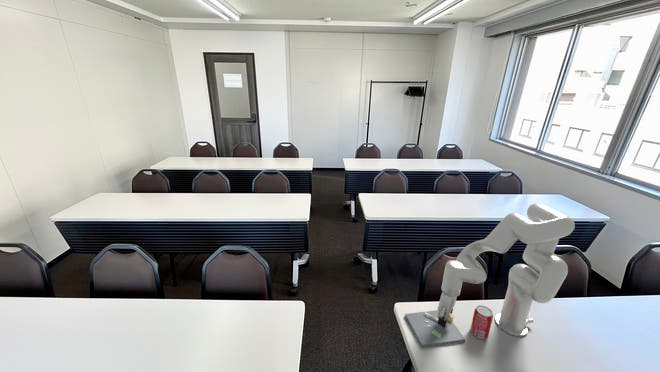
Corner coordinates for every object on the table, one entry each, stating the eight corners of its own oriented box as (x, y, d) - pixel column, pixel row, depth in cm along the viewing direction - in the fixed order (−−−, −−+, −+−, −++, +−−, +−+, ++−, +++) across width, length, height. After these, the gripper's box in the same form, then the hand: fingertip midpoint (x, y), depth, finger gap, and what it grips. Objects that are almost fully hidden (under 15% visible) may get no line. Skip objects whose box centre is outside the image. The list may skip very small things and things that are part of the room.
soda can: (490, 341, 114) (496, 318, 110) (472, 338, 115) (478, 315, 111) (484, 328, 121) (490, 306, 117) (467, 325, 122) (473, 303, 118)
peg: (451, 325, 120) (454, 314, 118) (449, 329, 118) (452, 318, 115) (426, 312, 127) (427, 300, 125) (423, 315, 125) (425, 304, 123)
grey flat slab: (443, 311, 130) (443, 309, 129) (464, 341, 114) (465, 338, 113) (404, 316, 127) (405, 313, 126) (421, 347, 111) (422, 344, 110)
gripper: (448, 274, 123) (442, 304, 128) (435, 294, 110) (429, 326, 116) (466, 281, 118) (459, 312, 123) (453, 303, 105) (446, 336, 111)
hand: (444, 319), depth 120 cm, fingers open, 8 cm apart
